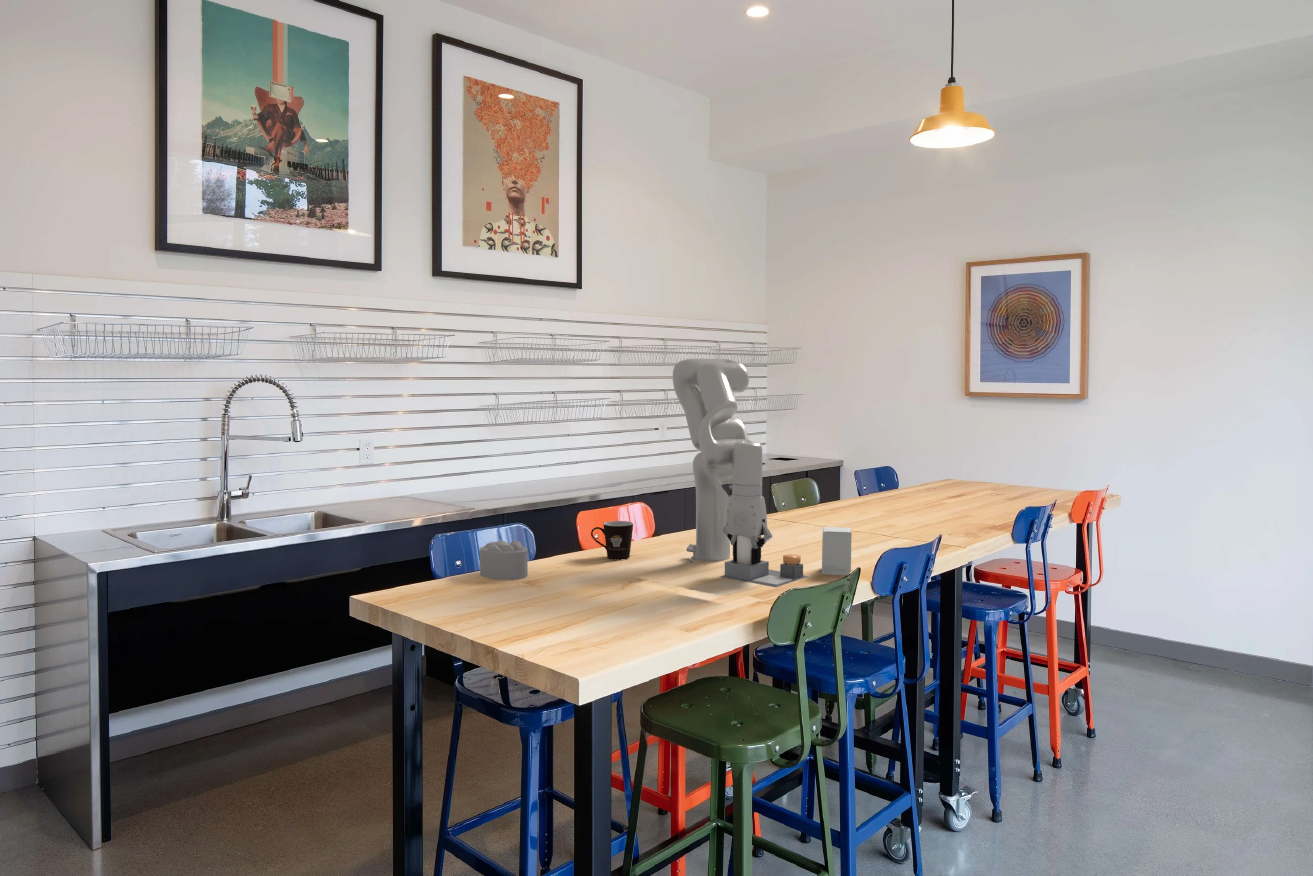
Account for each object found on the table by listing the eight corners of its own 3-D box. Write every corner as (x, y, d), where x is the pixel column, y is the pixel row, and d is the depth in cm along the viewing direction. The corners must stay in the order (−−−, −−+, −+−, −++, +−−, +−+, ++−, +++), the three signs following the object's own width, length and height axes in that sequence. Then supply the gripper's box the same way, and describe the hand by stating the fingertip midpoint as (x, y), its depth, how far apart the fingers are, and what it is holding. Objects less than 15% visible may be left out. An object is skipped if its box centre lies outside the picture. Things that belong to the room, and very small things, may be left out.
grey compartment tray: (719, 582, 218) (719, 562, 218) (753, 572, 229) (753, 553, 229) (775, 593, 207) (776, 572, 207) (808, 582, 218) (808, 562, 218)
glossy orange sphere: (779, 573, 218) (779, 556, 218) (789, 570, 222) (789, 553, 221) (794, 576, 215) (794, 558, 215) (803, 573, 219) (803, 556, 218)
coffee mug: (639, 556, 249) (639, 522, 249) (622, 562, 242) (622, 527, 241) (606, 552, 255) (606, 519, 255) (589, 557, 248) (588, 523, 248)
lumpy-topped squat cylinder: (505, 568, 235) (505, 536, 234) (537, 575, 226) (537, 542, 226) (474, 575, 227) (474, 542, 226) (506, 582, 218) (506, 548, 218)
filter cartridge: (732, 575, 219) (733, 521, 218) (744, 572, 223) (744, 518, 222) (749, 578, 216) (749, 523, 215) (760, 575, 219) (760, 520, 218)
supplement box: (851, 581, 219) (851, 532, 218) (821, 579, 221) (822, 531, 220) (850, 574, 226) (851, 527, 226) (821, 573, 228) (822, 526, 227)
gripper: (711, 489, 220) (711, 559, 222) (766, 495, 209) (766, 569, 210) (728, 486, 226) (728, 554, 227) (783, 492, 215) (783, 564, 216)
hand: (746, 561), depth 219 cm, fingers closed on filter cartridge, 5 cm apart
